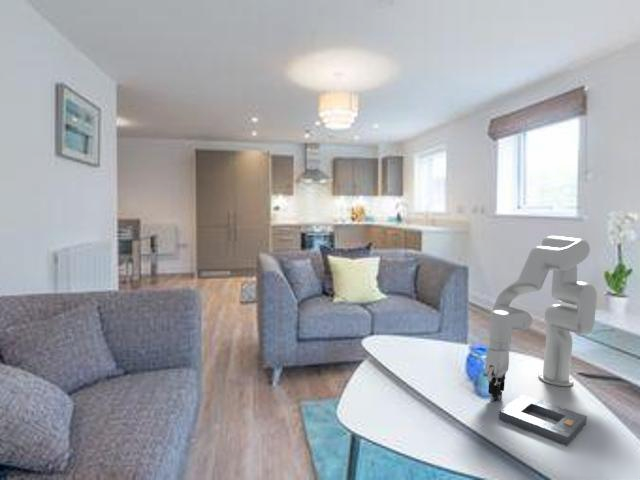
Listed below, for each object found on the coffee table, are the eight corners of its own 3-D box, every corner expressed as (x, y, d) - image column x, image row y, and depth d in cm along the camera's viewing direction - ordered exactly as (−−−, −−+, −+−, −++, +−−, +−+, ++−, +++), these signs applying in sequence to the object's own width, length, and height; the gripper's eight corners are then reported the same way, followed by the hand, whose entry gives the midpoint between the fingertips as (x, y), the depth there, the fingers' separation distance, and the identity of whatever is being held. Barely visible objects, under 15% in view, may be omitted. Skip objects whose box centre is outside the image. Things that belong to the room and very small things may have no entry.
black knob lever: (497, 404, 158) (499, 378, 157) (483, 399, 162) (485, 373, 160) (505, 399, 162) (507, 373, 161) (492, 394, 166) (493, 368, 165)
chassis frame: (521, 401, 160) (522, 393, 160) (586, 424, 145) (587, 415, 145) (498, 419, 147) (499, 410, 147) (567, 446, 132) (568, 436, 132)
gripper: (499, 336, 168) (496, 382, 170) (478, 347, 157) (475, 395, 159) (519, 341, 163) (516, 388, 165) (498, 352, 151) (495, 403, 153)
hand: (496, 391), depth 162 cm, fingers closed on black knob lever, 4 cm apart
